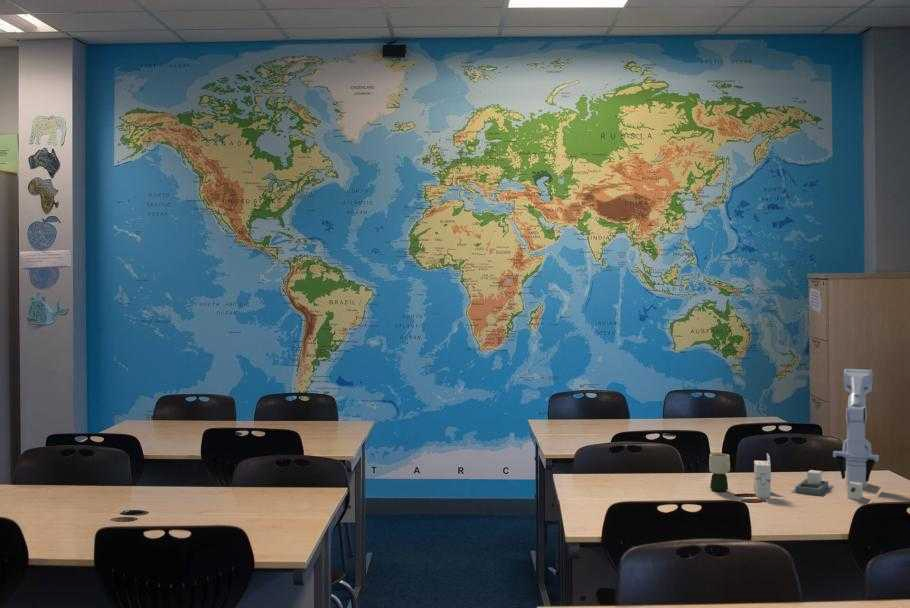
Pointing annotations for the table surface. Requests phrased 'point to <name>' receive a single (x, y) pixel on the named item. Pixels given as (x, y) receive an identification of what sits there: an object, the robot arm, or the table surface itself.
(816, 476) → the twin plug
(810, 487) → the grey rectangular tray
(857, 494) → the plug
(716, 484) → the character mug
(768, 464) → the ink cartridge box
